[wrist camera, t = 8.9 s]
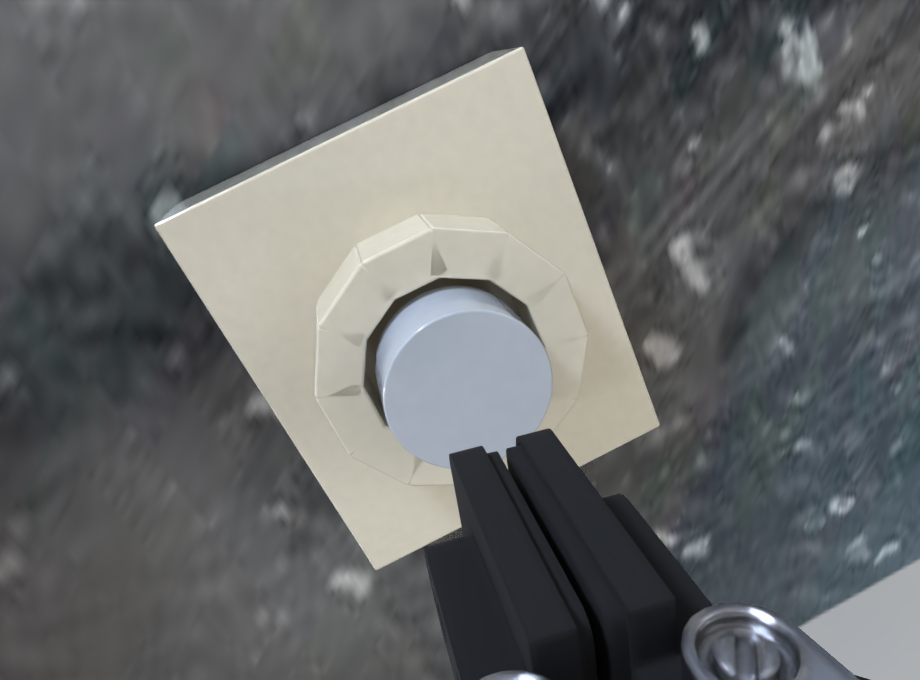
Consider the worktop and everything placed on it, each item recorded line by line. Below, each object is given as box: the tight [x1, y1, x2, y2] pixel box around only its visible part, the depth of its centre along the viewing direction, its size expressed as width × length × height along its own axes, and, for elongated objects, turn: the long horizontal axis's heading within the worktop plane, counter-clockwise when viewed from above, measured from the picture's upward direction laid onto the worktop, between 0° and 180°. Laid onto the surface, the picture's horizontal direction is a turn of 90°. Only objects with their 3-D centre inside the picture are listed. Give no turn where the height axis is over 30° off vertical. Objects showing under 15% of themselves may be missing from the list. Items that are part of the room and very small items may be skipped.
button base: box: [155, 47, 660, 570], centre depth 19 cm, size 12×10×5 cm
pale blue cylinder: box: [375, 285, 553, 469], centre depth 17 cm, size 4×4×2 cm
